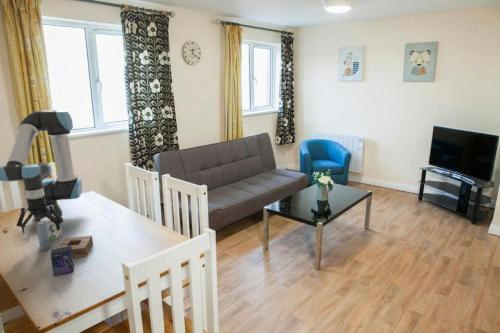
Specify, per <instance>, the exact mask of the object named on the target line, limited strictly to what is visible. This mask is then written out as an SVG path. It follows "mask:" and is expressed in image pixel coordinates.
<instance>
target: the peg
mask: <svg viewBox="0 0 500 333" xmlns="http://www.w3.org/2000/svg"><path fill="white" fill-rule="evenodd" d="M35 226H36V227H35V228H36V232H37V238H38V243H39V248H40V252H46V251H49V250H50V249H51V247H50V246H51V245H50V241H49V240H48V234H47V229H46V223H45V222H40V221H38V222H37V223H35Z"/></svg>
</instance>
